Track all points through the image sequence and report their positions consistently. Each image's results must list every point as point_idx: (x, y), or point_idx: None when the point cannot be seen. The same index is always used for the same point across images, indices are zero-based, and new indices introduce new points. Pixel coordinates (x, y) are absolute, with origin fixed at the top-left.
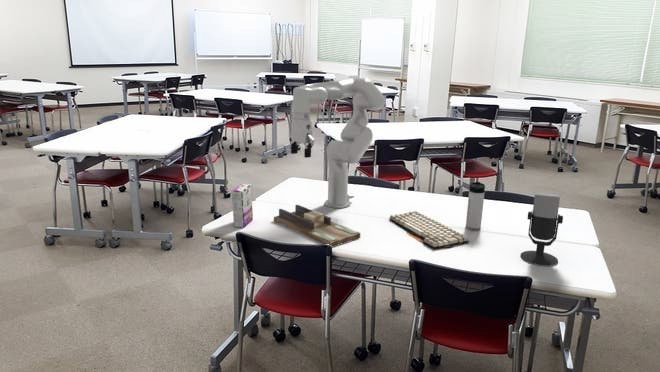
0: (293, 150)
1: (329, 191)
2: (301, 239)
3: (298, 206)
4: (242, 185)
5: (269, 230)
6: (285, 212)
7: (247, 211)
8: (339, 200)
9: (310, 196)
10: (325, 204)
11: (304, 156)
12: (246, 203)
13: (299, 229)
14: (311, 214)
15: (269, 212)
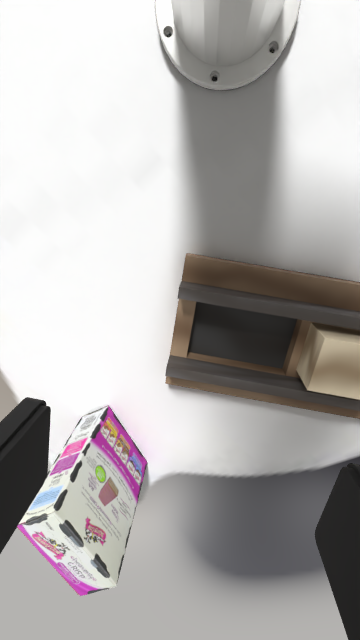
0: (24, 498)
1: (207, 27)
2: (344, 432)
3: (199, 301)
4: (43, 541)
5: (216, 435)
6: (207, 382)
7: (121, 471)
8: (270, 27)
9: (26, 7)
10: (190, 79)
11: (324, 550)
12: (116, 502)
13: (310, 407)
14: (340, 380)
15: (88, 324)
